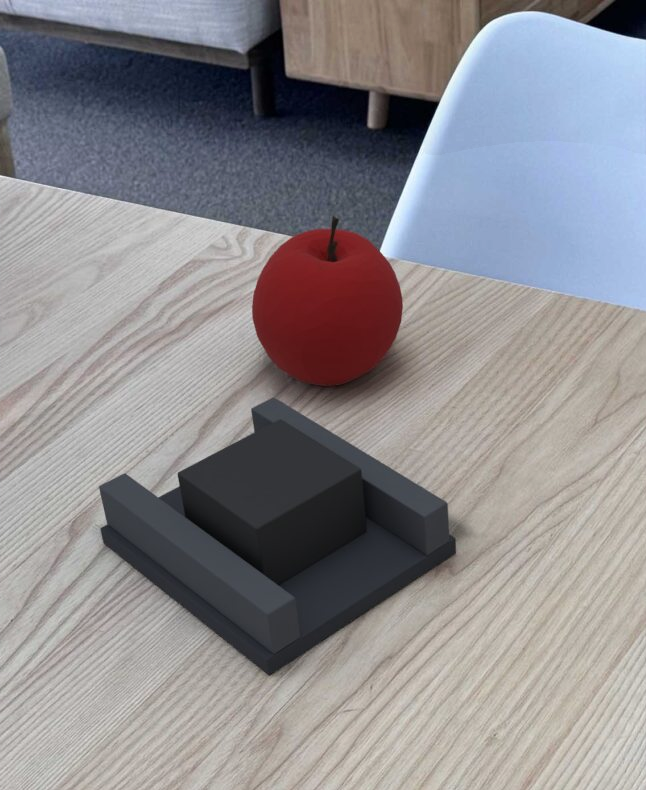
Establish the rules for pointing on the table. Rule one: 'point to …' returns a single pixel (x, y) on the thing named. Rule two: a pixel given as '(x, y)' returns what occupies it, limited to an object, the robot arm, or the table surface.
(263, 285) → the apple
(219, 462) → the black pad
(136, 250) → the table surface
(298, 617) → the base pad
